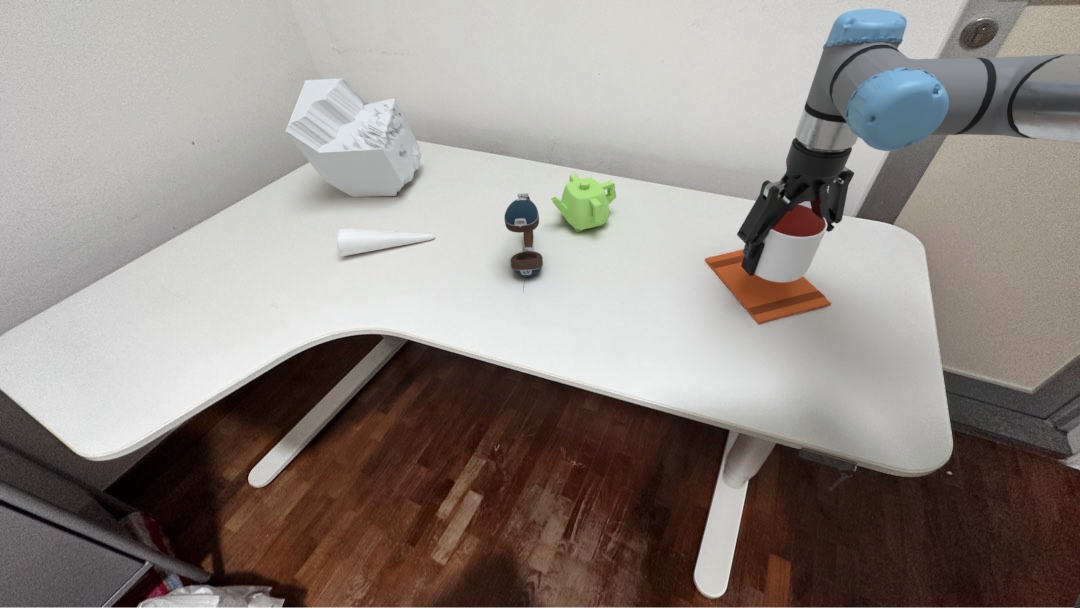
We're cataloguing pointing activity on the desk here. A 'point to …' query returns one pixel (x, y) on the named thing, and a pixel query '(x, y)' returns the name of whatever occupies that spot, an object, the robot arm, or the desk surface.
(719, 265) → the towel
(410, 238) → the long cone
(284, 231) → the desk surface
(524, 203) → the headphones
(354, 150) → the white faceted rock
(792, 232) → the cup
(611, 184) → the teapot
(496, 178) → the desk surface
